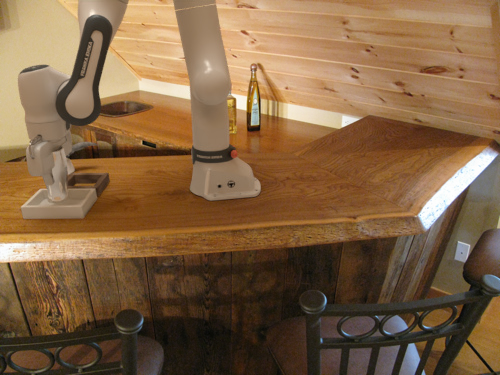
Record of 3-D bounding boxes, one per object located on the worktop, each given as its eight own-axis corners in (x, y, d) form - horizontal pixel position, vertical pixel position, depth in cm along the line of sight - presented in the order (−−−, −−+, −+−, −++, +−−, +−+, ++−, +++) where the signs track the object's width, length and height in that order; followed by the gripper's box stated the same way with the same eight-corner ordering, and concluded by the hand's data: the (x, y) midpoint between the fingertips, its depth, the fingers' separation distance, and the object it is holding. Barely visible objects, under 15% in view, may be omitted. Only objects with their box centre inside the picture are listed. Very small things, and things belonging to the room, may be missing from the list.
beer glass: (65, 192, 118) (56, 142, 112) (77, 199, 114) (69, 148, 108) (41, 199, 113) (30, 148, 107) (53, 207, 109) (43, 154, 103)
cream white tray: (97, 199, 120) (95, 188, 119) (83, 218, 109) (81, 206, 108) (42, 199, 120) (40, 188, 118) (23, 218, 109) (20, 207, 107)
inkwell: (46, 169, 142) (40, 142, 138) (100, 162, 149) (96, 136, 145) (46, 178, 134) (40, 150, 130) (102, 171, 141) (98, 143, 137)
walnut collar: (109, 181, 133) (108, 172, 131) (98, 196, 122) (97, 187, 121) (72, 181, 132) (71, 172, 131) (58, 197, 121) (56, 188, 120)
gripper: (41, 142, 96) (52, 194, 102) (72, 120, 115) (80, 165, 120) (14, 142, 96) (26, 195, 101) (50, 120, 114) (58, 165, 120)
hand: (56, 178), depth 111 cm, fingers closed on beer glass, 6 cm apart
